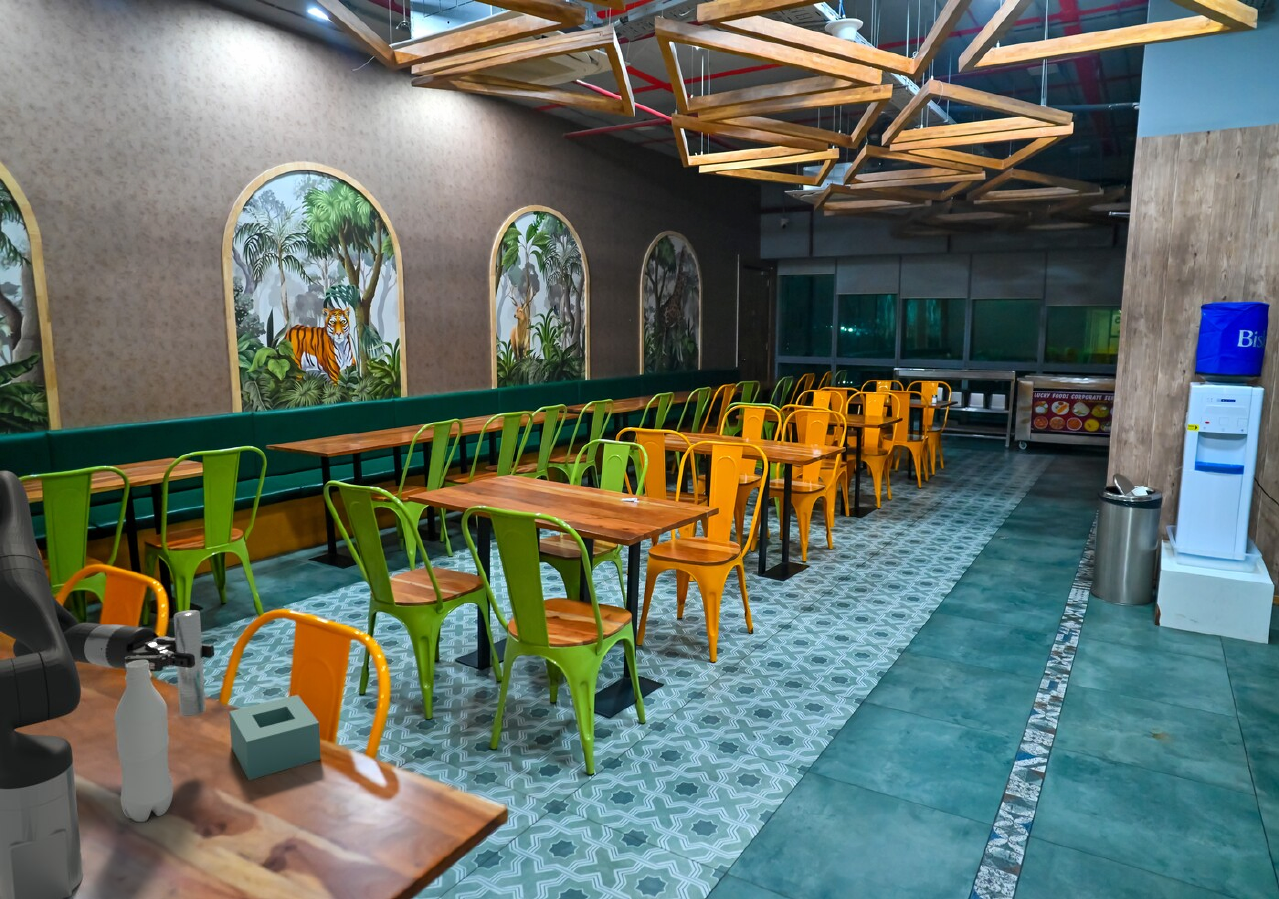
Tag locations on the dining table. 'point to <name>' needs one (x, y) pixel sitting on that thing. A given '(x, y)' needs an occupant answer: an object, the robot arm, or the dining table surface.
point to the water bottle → (143, 745)
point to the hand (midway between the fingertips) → (202, 656)
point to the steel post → (191, 677)
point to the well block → (274, 736)
